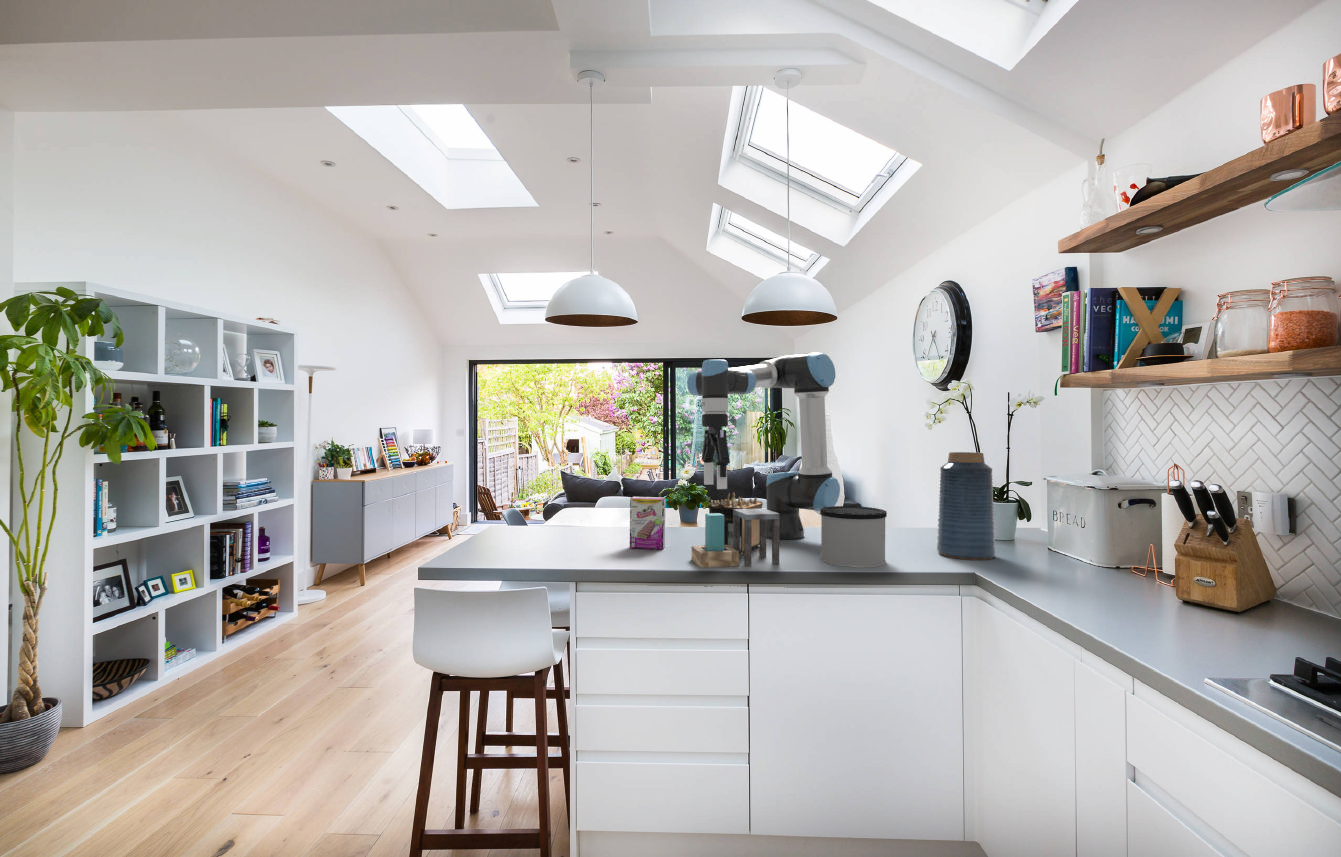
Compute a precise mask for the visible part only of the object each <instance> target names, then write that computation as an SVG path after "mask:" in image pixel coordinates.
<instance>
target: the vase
mask: <svg viewBox="0 0 1341 857" xmlns="http://www.w3.org/2000/svg"><path fill="white" fill-rule="evenodd" d="M939 469H940V473H939V474H940V476H939V479H940V480H939V495H938V496H939V501H938V502H939V503H938V506H939V507H938V519H937V527H938V528H937V544H936V549H937V551H936V552H938V553H939V554H940V555H941V556H943V557H947V558H951V559H957V560H965V561H985V560H990V559H993V558H994V557H995V555H996V539H995V537H996V536H995V534H996V533H995V529H996V528H995V521H994V520H995V518H994V513H995V512H994V508H995V507H994V492H993V491H994V490H993V489H994V485H993V467H991V466H989V465H988V464H986V463H985V457H984V453H983V452H965V451H964V452H961V451H959V452H958V451H957V452H956V451H951V452H950V451H949V452H948V458H947V462H946V463H945V464H943V465H942V466H940V468H939Z"/></svg>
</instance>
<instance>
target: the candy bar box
mask: <svg viewBox="0 0 1341 857" xmlns="http://www.w3.org/2000/svg"><path fill="white" fill-rule="evenodd" d="M629 506H630V508H629V549H632V548H635V549H636V548H641V549H640V550H664V548H665V547H666V497H661V496H660V497H659V496H657V497H655V496H654V497H653V496H632V497H630V500H629ZM635 549H634V550H635ZM636 550H637V549H636Z"/></svg>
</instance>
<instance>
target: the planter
mask: <svg viewBox="0 0 1341 857" xmlns="http://www.w3.org/2000/svg"><path fill="white" fill-rule="evenodd" d="M730 496H731V493H730V492H728V494H727V497H726V498H725V499H722V498H721V499H720V500H718V499H717V500H715V499H714V500H713V499H710V502H709V505H708V511H709V513H721V514H723V515H724V545H728V546H730V547H732V548H733V509H763V506H764V503H763V501H762V500H758V498H757V497H754V499H752V498H749V499H748V500H746V499H745V498H743V497H741V496H738V498H736V497H735V496H736V494H735V492H734V491H733V492H732V497H731V499H730ZM758 549H759V520H752V543H751V553H752V552H754V551H755V550H758ZM741 556H744V519H743V518H740V557H741Z"/></svg>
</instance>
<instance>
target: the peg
mask: <svg viewBox="0 0 1341 857" xmlns="http://www.w3.org/2000/svg"><path fill="white" fill-rule="evenodd" d="M704 515H705V520H704V521H705V527H704V528H705V530H704V531H705V532H704V536H705V538H704V542H705V543H704V546H705V551H706V552H707V551H724V515H723V514H721V513H705V514H704Z"/></svg>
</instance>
